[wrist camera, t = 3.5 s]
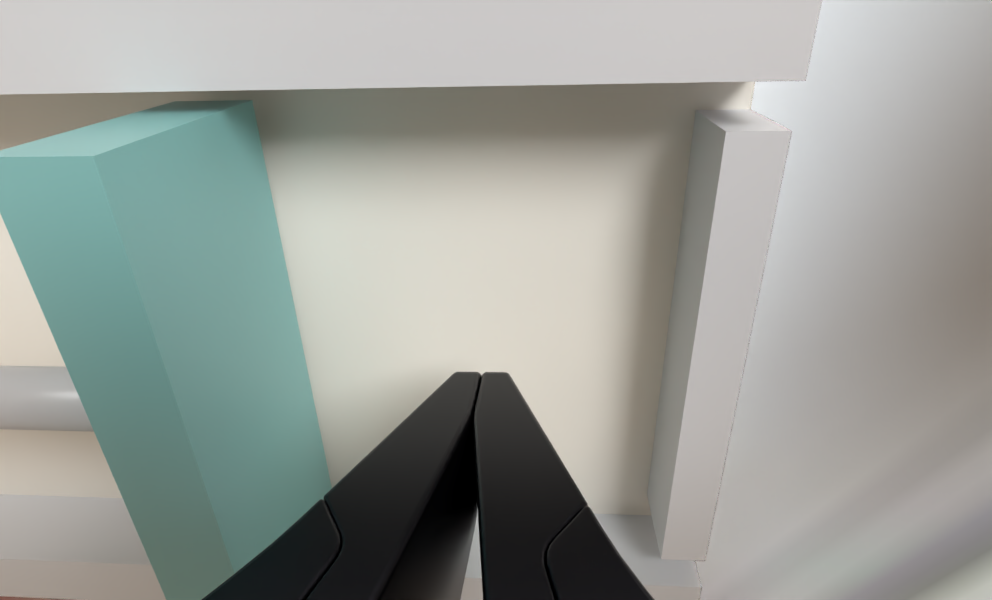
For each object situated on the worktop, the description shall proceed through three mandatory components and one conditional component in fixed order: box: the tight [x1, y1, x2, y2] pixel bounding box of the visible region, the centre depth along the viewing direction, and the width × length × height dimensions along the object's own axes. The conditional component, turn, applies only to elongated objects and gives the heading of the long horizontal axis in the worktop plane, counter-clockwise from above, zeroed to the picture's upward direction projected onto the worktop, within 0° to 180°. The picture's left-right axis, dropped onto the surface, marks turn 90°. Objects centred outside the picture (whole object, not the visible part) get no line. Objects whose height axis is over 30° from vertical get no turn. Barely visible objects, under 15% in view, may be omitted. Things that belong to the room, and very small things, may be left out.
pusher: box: [0, 100, 332, 600], centre depth 9 cm, size 8×8×4 cm
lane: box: [0, 0, 822, 600], centre depth 11 cm, size 17×12×2 cm
